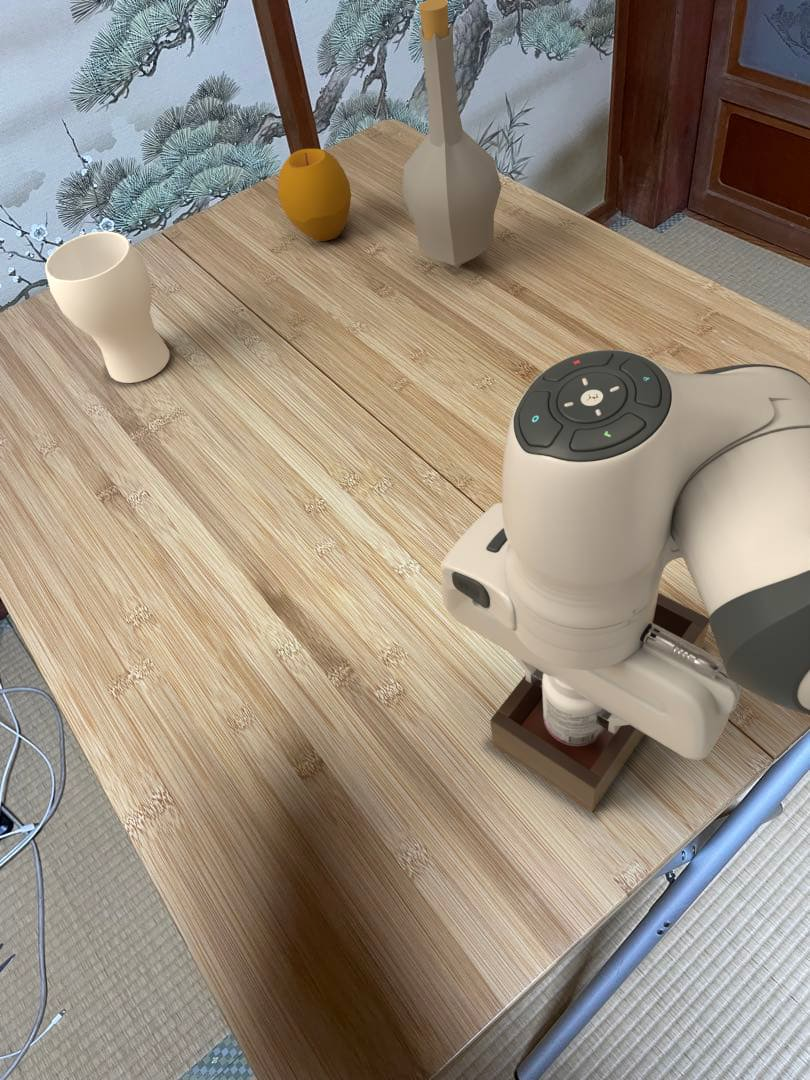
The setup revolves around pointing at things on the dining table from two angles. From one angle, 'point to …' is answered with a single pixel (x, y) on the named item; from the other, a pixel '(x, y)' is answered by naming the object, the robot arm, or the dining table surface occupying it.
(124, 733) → the dining table surface
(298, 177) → the orange candle
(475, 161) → the bottle
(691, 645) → the robot arm
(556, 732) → the pill bottle
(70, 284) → the cup
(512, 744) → the holder
